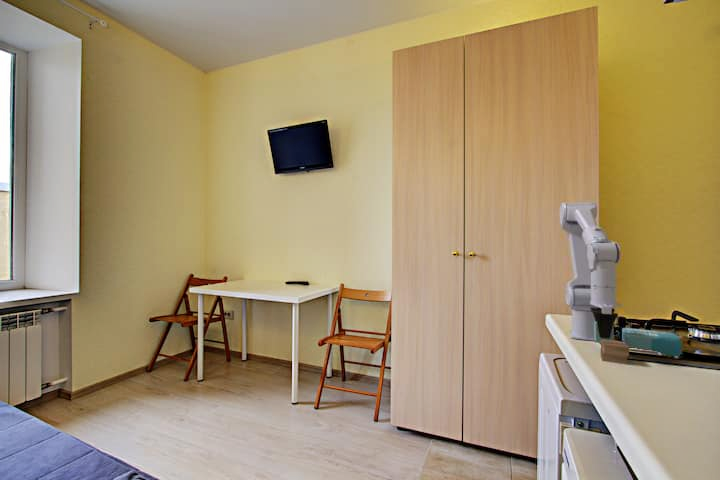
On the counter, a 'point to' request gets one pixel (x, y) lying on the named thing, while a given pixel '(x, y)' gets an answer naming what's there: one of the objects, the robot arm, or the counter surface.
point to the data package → (653, 341)
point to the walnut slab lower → (613, 358)
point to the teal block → (597, 336)
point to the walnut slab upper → (614, 347)
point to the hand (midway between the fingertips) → (603, 335)
